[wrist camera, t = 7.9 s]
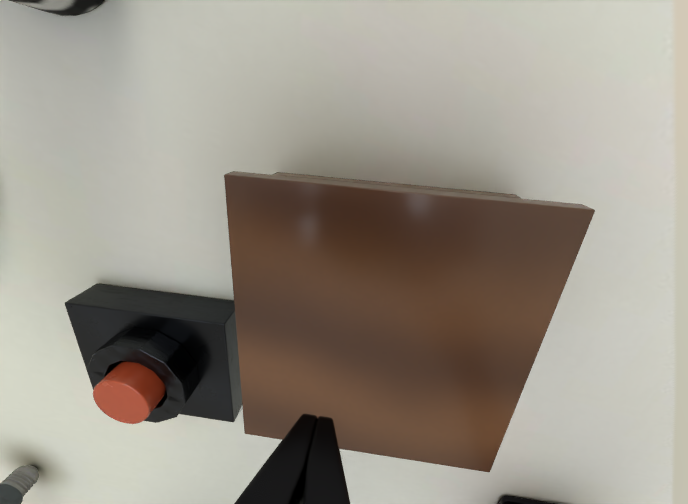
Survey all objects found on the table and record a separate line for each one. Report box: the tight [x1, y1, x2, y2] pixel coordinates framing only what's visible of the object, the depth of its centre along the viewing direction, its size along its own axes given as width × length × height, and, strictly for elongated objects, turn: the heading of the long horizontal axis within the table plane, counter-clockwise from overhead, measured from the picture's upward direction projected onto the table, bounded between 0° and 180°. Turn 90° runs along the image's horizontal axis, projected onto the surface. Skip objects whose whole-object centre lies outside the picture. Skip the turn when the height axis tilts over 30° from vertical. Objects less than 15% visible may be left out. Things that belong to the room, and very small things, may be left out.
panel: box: [65, 284, 242, 423], centre depth 23 cm, size 11×9×4 cm
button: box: [93, 361, 166, 424], centre depth 20 cm, size 4×4×2 cm
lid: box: [224, 171, 595, 472], centre depth 15 cm, size 15×14×1 cm
